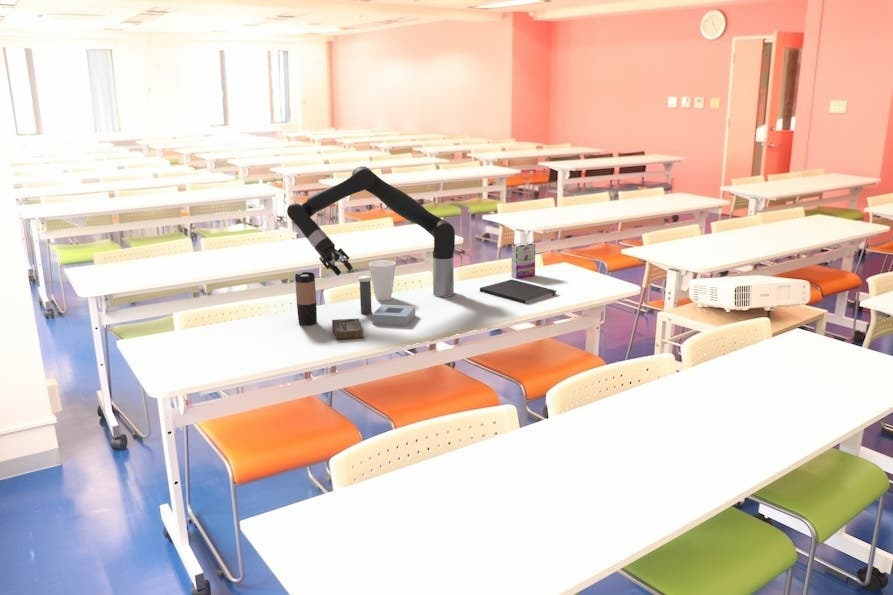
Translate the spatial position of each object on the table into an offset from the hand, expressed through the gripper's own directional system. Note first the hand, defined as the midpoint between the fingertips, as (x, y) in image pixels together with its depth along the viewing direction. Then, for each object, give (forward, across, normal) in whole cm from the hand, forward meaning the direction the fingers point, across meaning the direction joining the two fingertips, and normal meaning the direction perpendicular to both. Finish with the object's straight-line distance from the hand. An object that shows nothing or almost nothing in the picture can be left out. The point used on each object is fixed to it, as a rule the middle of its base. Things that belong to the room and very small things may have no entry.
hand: (345, 271), depth 306 cm
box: (+24, -24, +1) cm, 34 cm away
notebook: (+52, +55, -27) cm, 80 cm away
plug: (+18, 0, +5) cm, 19 cm away
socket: (+29, -3, -6) cm, 30 cm away
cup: (+15, +21, +9) cm, 28 cm away
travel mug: (+9, -22, +15) cm, 28 cm away
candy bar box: (+45, +84, -21) cm, 97 cm away
